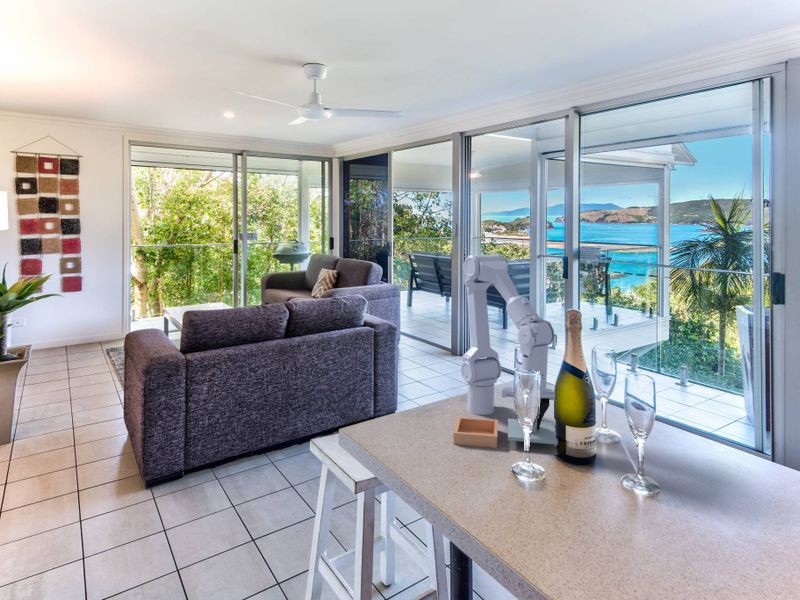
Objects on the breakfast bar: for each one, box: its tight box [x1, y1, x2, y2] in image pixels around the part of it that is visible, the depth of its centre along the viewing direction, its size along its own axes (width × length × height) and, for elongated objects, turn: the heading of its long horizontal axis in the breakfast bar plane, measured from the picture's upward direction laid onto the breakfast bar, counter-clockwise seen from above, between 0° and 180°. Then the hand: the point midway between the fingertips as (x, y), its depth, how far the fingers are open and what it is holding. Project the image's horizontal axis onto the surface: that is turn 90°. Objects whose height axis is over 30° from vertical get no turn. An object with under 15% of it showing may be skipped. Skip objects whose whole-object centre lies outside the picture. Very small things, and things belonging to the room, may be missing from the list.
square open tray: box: [452, 416, 499, 449], centre depth 119 cm, size 10×10×4 cm
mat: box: [507, 439, 559, 455], centre depth 118 cm, size 13×11×1 cm
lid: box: [507, 417, 559, 446], centre depth 117 cm, size 11×11×4 cm
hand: (531, 427), depth 117 cm, fingers closed on lid, 2 cm apart
